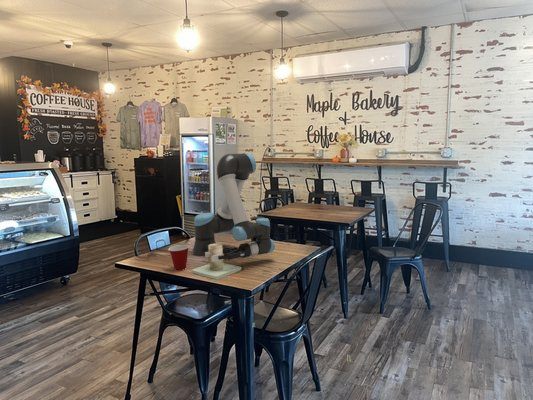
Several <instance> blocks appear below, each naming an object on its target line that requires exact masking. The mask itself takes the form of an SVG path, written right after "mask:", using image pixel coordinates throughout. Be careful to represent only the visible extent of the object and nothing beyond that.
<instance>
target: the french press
mask: <svg viewBox="0 0 533 400" xmlns="http://www.w3.org/2000/svg"><path fill="white" fill-rule="evenodd" d="M260 209H261V208H259V207H256V208H253V210H255V211H256V212H259V211H258V210H260ZM259 218H265V217H264V216H251V217H250V221H251V222H252V221H255V222H256V219H259ZM254 241H257V239H256V238H252V239H250V242H254Z"/></svg>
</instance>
